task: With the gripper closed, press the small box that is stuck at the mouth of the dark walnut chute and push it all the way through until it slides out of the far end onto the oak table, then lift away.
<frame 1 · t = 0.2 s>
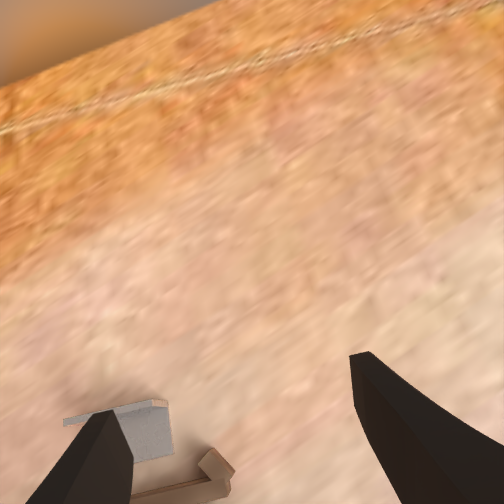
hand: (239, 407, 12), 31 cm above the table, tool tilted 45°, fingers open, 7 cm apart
bookend: (132, 435, 40), on the table
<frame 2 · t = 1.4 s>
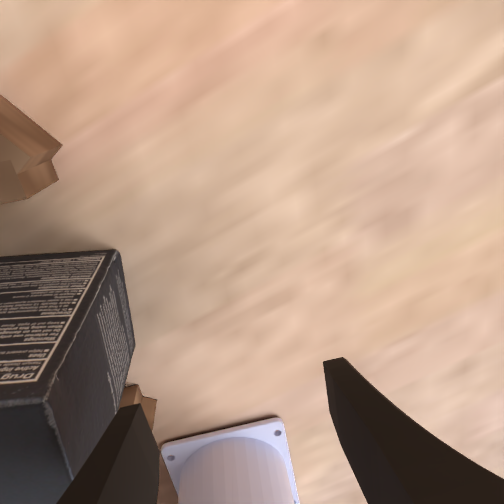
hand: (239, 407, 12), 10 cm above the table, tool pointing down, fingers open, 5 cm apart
small box: (30, 308, 21), on the table
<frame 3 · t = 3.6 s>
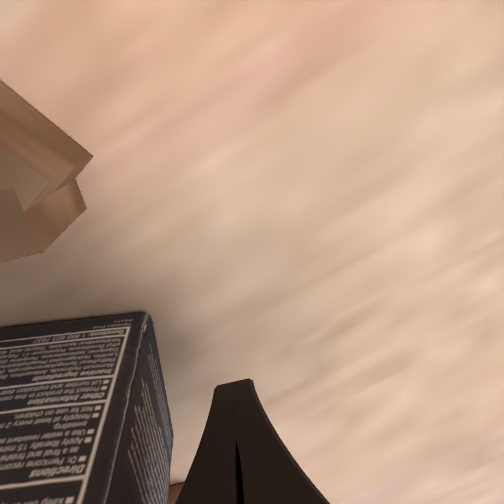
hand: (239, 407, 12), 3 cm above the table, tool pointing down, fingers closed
small box: (22, 395, 14), on the table, touching gripper
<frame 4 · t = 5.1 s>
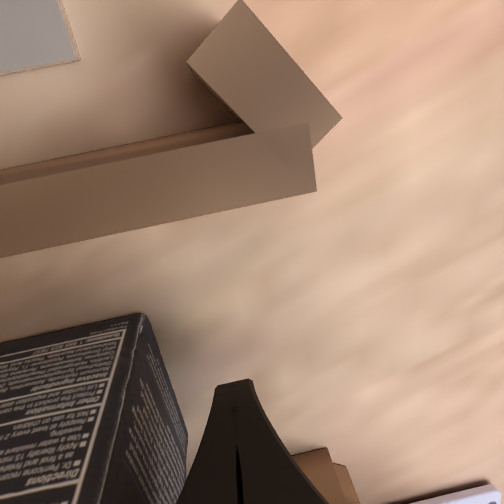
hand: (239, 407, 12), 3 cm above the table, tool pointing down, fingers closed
small box: (35, 407, 15), on the table, touching gripper
chute: (124, 372, 14), on the table
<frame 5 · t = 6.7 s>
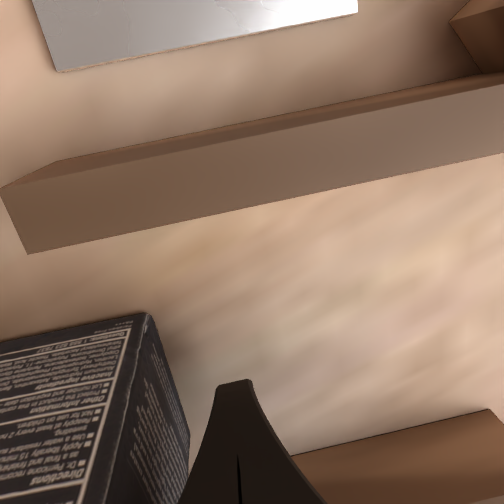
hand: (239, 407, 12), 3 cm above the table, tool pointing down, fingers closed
small box: (38, 405, 14), on the table, touching gripper
chute: (321, 328, 14), on the table
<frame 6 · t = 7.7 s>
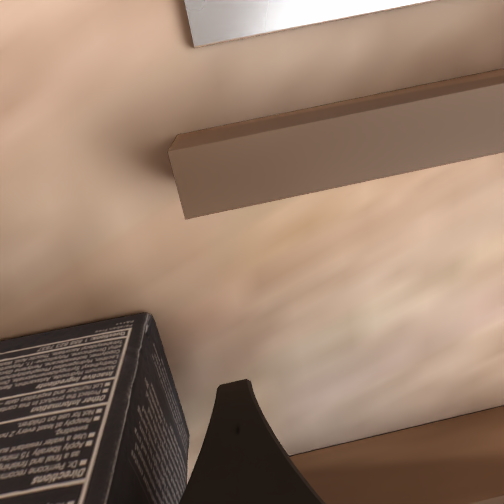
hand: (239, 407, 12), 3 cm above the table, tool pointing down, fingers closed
small box: (37, 404, 14), on the table, touching gripper
chute: (413, 307, 15), on the table
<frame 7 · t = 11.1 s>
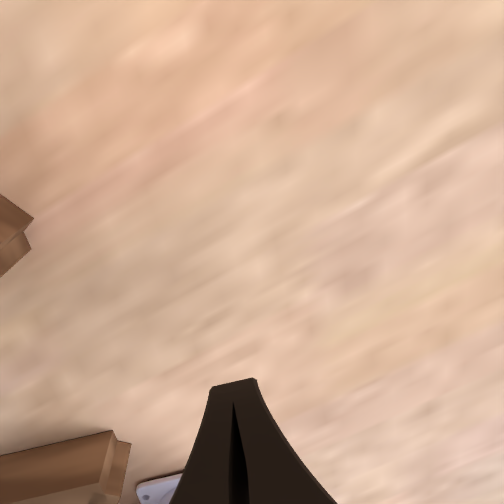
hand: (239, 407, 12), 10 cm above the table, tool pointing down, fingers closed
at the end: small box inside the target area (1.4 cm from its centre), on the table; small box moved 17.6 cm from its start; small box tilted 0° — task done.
